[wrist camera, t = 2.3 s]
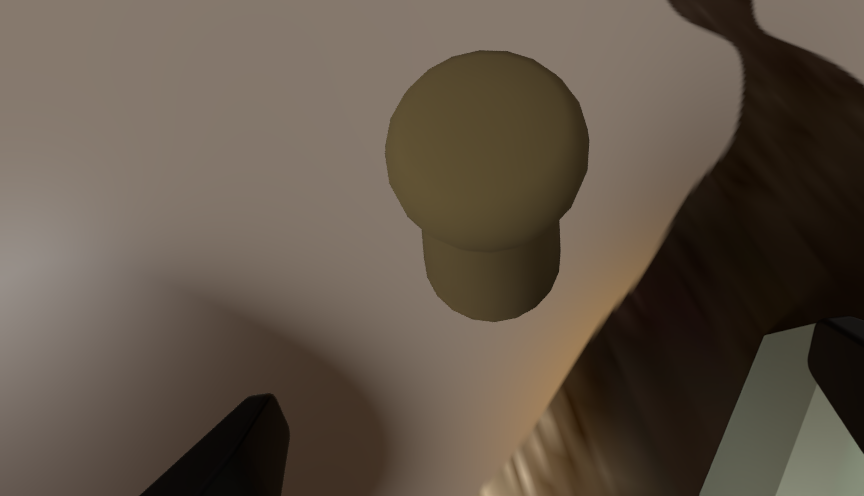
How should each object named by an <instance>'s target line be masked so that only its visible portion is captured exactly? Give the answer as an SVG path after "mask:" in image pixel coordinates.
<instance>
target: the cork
mask: <svg viewBox="0 0 864 496" xmlns="http://www.w3.org/2000/svg"><path fill="white" fill-rule="evenodd" d="M385 149H386V151H385V157H386V164H387V170H388V177H389V183H390V185H391V187H392V189H393V191H394V193H395V194H396V196H397V198H398V200H399V202H400V204H401V205H402V207H403V209H404V211H405V213H406V214H407V216H408V217H409V218H410V219H411V220H412V221H413V222H414V223H415V224H416V225H417V226H419V227H420V228H421V229H422V239H423V250H424V260H425V266H426V272H427V278H428V279H429V281H430V283H431V285H432V287H433V289H434V291H435V292H436V294H437V296H438V297H439V298H440V299H441V300H443V301H444V302H445V303H446V304H447V305H448V306H449V307H450V308H451V309H452V310H454V311H456V312H458V313H460V314H462V315H465V316H466V317H469V318H471V319H474V320H482V321H490V322H497V321H503V320H508V319H512V318H517V317H519V316H521V315H522V314H524V313H526V312H528V311H530V310H531V309H533V308H535V307H536V306H537V305H538V304H539V303H540V302H541V301H542V300H543V299H544V298H545V297H546V296H547V294H548V293H549V292H550V291H551V289H552V287H553V284H554V282H555V280H556V277H557V275H558V273H559V264H560V228H559V220H560V218H561V217H562V216H563V215H564V214H565V213H566V212H567V211H568V210H569V209H570V208H571V206H572V204H573V202H574V199H575V197H576V195H577V193H578V191H579V188H580V186H581V184H582V182H583V179H584V177H585V175H586V172H587V169H588V152H589V136H588V129H587V126H586V123H585V120H584V116H583V113H582V110H581V107H580V104H579V102H578V100H577V99H576V98H575V96H574V95H573V94H572V92H571V91H570V90H569V89H568V87H567V86H566V85H565V83H564V82H563V81H562V80H561V79H560V78H559V77H558V76H557V75H556V74H554V73H553V72H551V71H550V70H548V69H547V68H545V67H544V66H542V65H541V64H539V63H538V62H536V61H535V60H534V59H530V58H527V57H524V56H521V55H518V54H514V53H511V52H508V51H481V50H479V51H475V52H471V53H467V54H462V55H458V56H454V57H451V58H449V59H448V60H446V61H444V62H442V63H440V64H438V65H436V66H434V67H432V68H431V69H429V70H428V71H427V72H426V73H424V75H423V76H421V77H420V78H419V79H418V80H417V81H416V82H415V83H414V84H413V85H412V86H411V87H410V88H409V89H408V90H407V92H406V93H405V94H404V96H403V98H402V99H401V101H400V103H399V105H398V106H397V108H396V110H395V112H394V114H393V115H392V117H391V119H390V125H389V130H388V135H387V140H386V146H385Z"/></svg>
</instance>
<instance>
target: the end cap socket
mask: <svg viewBox="0 0 864 496" xmlns="http://www.w3.org/2000/svg"><path fill="white" fill-rule="evenodd" d="M815 324H816V323H815ZM815 324H811V325H807V326H802V327H798V328H794V329H790V330H785V331H781V332H777V333H773V334H768V335H764V337H763V340H762V342H761V345H760V347H759V350H758V352H757V354H756V357H755V359H754V362H753V364H752V367H751V369H750V372H749V374H748V377H747V379H746V382H745V384H744V386H743V389H742V391H741V394H740V396H739V399H738V401H737V404H736V406H735V409H734V411H733V414H732V416H731V418H730V421H729V423H728V426H727V428H726V431H725V433H724V436H723V438H722V441H721V443H720V445H719V448H718V450H717V453H716V455H715V458H714V460H713V463H712V465H711V468H710V470H709V473H708V475H707V477H706V480H705V482H704V485H703V487H702V490H701V492H700V495H699V496H864V454H863V453H862V451H861V450H860V448H859V447H858V445H857V444H856V442H855V441H854V439H853V438H852V436H851V435H850V433H849V432H848V430H847V428H846V427H845V425H844V424H843V422H842V421H841V419H840V418H839V416H838V415H837V413H836V412H835V410H834V409H833V407H832V406H831V404H830V402H829V401H828V399H827V398H826V396H825V395H824V393H823V392H822V390H821V389H820V387H819V386H818V384H817V383H816V381H815V380H814V378H813V376H812V375H811V373H810V371H809V368H808V362H807V358H808V353H809V349H810V344H811V340H812V335H813V331H814V327H815Z"/></svg>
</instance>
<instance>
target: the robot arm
mask: <svg viewBox="0 0 864 496" xmlns="http://www.w3.org/2000/svg"><path fill="white" fill-rule="evenodd" d="M807 362H808V368H809V371H810V373H811V375H812V376H813V378H814V380H815V381H816V383H817V384H818V386H819V387H820V389H821V390H822V392H823V393H824V395H825V396H826V398H827V399H828V401H829V402H830V404H831V406H832V407H833V409H834V410H835V412H836V413H837V415H838V416H839V418H840V419H841V421H842V422H843V424H844V425H845V427H846V428H847V430H848V432H849V433H850V435H851V436H852V438H853V439H854V441H855V442H856V444H857V445H858V447H859V448H860V450H861V451H862V453H863V454H864V320H861V319H858V318H855V317H852V316H839V317H831V318H824V319H821V320H819V321H818V322H817V323H816V324H815V327H814V331H813V335H812V340H811V344H810V349H809V353H808V358H807ZM289 440H290V431H289V426H288V423H287V421H286V419H285V416H284V414H283V412H282V410H281V407H280V405H279V403H278V401H277V399H276V397H275V396H274V395H273V394H271V393H265V394H257V395H252V396H249V397H247V398H246V399H245V400H244V401H242V402H241V403H240V404H239V405H238V406H237V407H236V408H235V409H234V410H233V411H232V412H230V413H229V414H228V415H227V416H226V417H225V418H224V419H223V420H222V421H221V422H220V423H218V424H217V425H216V426H215V427H214V428H213V429H212V430H211V431H210V432H208V433H207V434H206V435H205V436H204V437H203V438H202V439H201V440H200V441H199V442H198V443H196V444H195V445H194V446H193V447H192V448H191V449H190V450H189V451H188V452H187V453H185V454H184V455H183V456H182V457H181V458H180V459H179V460H178V461H177V462H176V463H175V464H174V465H172V466H171V467H170V468H169V469H168V470H167V471H166V472H165V473H164V474H163V475H161V476H160V477H159V478H158V479H157V480H156V481H155V482H154V483H153V484H151V485H150V486H149V487H148V488H147V489H146V490H145V491H144V492H143V493H142V494H141V495H139V496H281V493H282V487H283V480H284V473H285V466H286V460H287V454H288V447H289Z"/></svg>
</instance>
